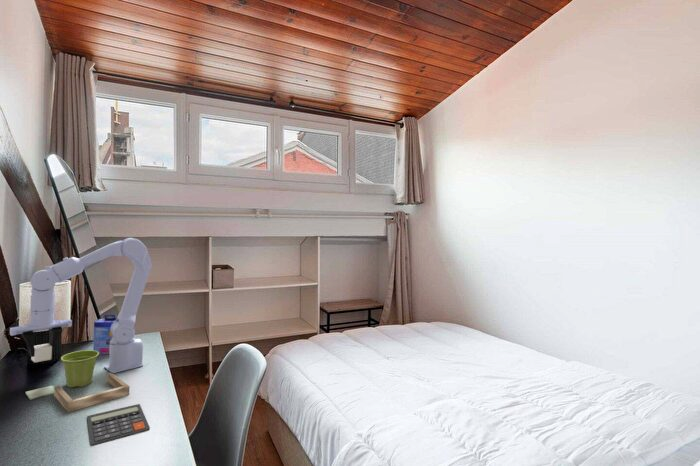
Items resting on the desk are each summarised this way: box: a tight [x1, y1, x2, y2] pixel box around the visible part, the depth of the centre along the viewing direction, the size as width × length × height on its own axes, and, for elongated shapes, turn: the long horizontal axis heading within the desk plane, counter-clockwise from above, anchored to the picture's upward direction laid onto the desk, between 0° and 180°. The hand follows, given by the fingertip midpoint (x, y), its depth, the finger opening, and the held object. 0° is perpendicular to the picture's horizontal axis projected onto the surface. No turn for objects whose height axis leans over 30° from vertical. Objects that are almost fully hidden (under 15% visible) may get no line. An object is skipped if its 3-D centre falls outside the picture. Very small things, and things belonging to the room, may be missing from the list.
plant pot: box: [60, 349, 100, 388], centre depth 113 cm, size 9×9×9 cm
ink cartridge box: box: [92, 314, 117, 355], centre depth 141 cm, size 10×6×14 cm, turn 104°
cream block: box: [30, 343, 53, 363], centre depth 113 cm, size 4×4×4 cm
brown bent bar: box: [25, 372, 130, 413], centre depth 106 cm, size 19×21×2 cm
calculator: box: [86, 403, 151, 447], centre depth 91 cm, size 12×1×15 cm
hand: (41, 354), depth 113 cm, fingers closed on cream block, 4 cm apart
